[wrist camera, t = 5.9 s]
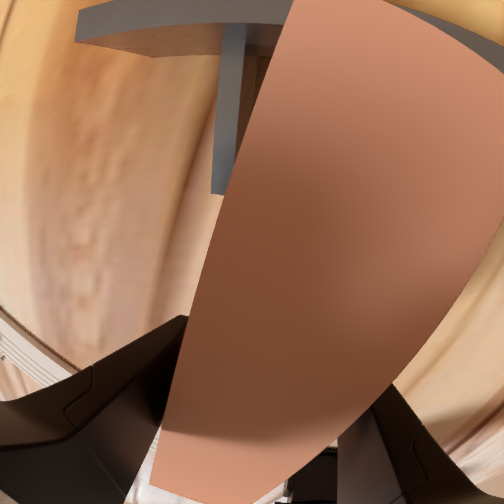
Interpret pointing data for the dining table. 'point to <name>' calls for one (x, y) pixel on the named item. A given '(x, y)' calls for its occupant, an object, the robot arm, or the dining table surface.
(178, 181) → the dining table surface
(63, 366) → the baseboard
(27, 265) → the dining table surface
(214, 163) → the bracket
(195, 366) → the rail
